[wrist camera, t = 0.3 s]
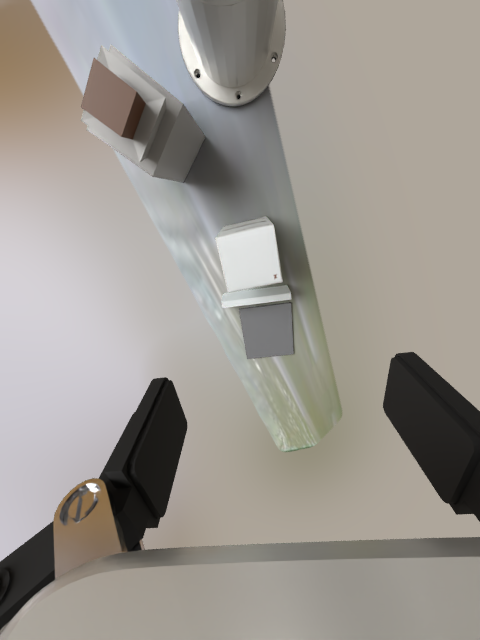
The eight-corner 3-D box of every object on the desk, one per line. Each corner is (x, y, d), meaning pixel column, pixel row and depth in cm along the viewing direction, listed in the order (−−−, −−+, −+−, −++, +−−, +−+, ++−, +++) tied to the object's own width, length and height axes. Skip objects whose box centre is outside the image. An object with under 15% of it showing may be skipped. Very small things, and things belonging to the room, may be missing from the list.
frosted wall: (223, 293, 44) (221, 301, 41) (287, 284, 43) (290, 293, 39) (224, 299, 45) (222, 308, 41) (287, 291, 44) (291, 299, 40)
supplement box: (267, 214, 38) (276, 223, 26) (273, 260, 41) (284, 284, 30) (222, 224, 38) (213, 236, 27) (232, 268, 42) (228, 294, 31)
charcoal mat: (239, 308, 46) (239, 309, 45) (290, 302, 45) (291, 303, 44) (247, 357, 51) (247, 358, 51) (293, 352, 50) (293, 354, 50)
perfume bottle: (205, 136, 33) (168, 82, 17) (183, 182, 36) (133, 172, 20) (162, 101, 31) (75, 5, 15) (142, 152, 34) (51, 115, 18)
